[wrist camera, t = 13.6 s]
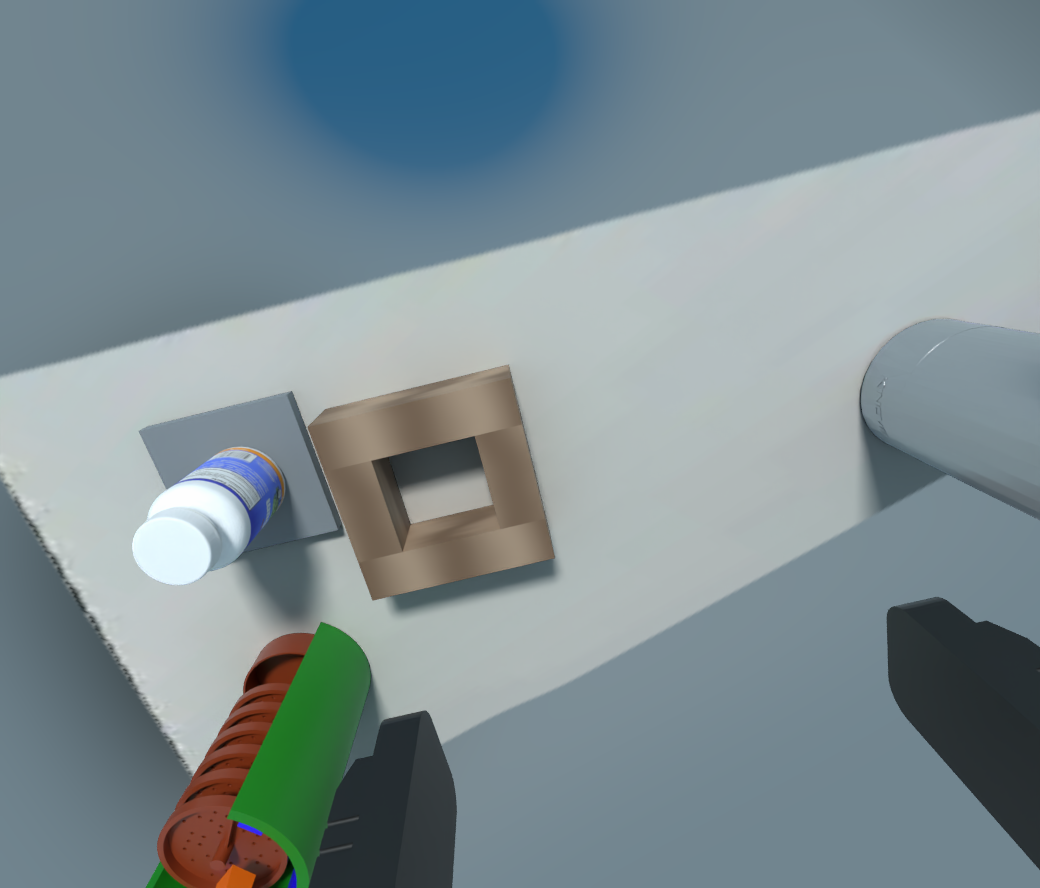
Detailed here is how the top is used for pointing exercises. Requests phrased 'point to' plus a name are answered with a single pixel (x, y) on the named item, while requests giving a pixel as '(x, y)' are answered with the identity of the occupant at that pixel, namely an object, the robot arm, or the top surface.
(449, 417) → the socket block
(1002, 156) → the top surface
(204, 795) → the green brown cylinder
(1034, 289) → the top surface
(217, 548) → the pill bottle
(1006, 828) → the robot arm
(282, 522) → the mat
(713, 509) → the top surface
